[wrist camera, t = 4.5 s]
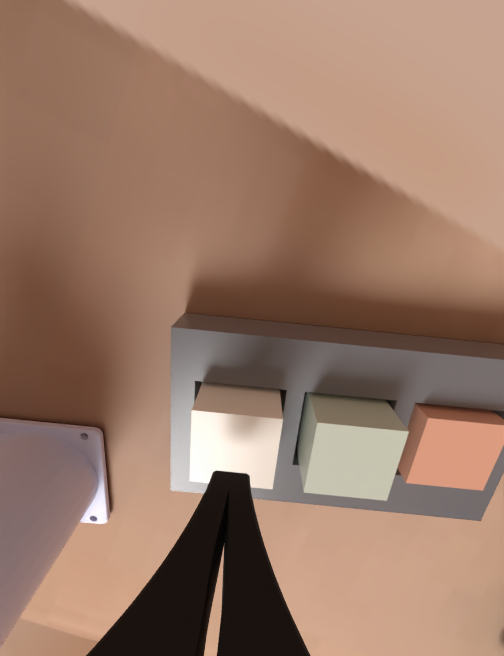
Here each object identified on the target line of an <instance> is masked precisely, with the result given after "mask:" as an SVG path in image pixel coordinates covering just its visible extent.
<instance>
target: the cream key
mask: <svg viewBox="0 0 504 656" xmlns="http://www.w3.org/2000/svg"><path fill="white" fill-rule="evenodd" d="M282 423H283V414H282V405H281V396H280V389H273V388H263V387H253V386H243V385H233V384H223V383H212V382H202V385H201V387H200V390H199V392H198V395H197V398H196V400H195V403H194V405H193V408H192V411H191V445H190V478H189V481H192V482H202V483H209V482H210V479H211V476H212V473H213V472H214V471H216V470H217V471H227V472H237V473H247V474H248V475H249V476H250V487H252V488H263V489H273V483H274V476H275V469H276V463H277V456H278V450H279V443H280V436H281V430H282Z"/></svg>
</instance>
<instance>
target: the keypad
mask: <svg viewBox="0 0 504 656" xmlns="http://www.w3.org/2000/svg"><path fill="white" fill-rule="evenodd" d="M202 382H212V383H223V384H233V385H243V386H253V387H263V388H273V389H280V396H281V405H282V414H283V423H282V430H281V436H280V443H279V450H278V456H277V463H276V469H275V476H274V483H273V489H263V488H252V487H251V494H252V498H253V499H263V500H273V501H283V502H294V503H304V504H314V505H324V506H334V507H344V508H354V509H364V510H374V511H385V512H395V513H405V514H415V515H425V516H435V517H445V518H455V519H466V520H476V521H481V519H482V517H483V515H484V513H485V510H486V508H487V506H488V504H489V502H490V500H491V498H492V496H493V494H494V492H495V489H496V487H497V485H498V483H499V481H500V479H501V477H502V475H503V473H504V446H503V448H502V450H501V452H500V454H499V456H498V459H497V461H496V463H495V465H494V467H493V470H492V472H491V474H490V476H489V478H488V481H487V483H486V485H485V487H484V489H483V491H481V490H471V489H461V488H451V487H441V486H430V485H420V484H410V483H406V482H405V480H404V479H403V477H402V475H401V473H400V472H399V470H398V468H397V471H396V474H395V477H394V480H393V483H392V486H391V489H390V492H389V495H388V498H387V501H384V500H374V499H364V498H354V497H344V496H333V495H323V494H313V493H304V492H303V485H302V479H301V473H300V467H299V461H298V454H297V442H298V436H299V435H298V429H299V424H300V418H301V412H302V406H303V401H304V395H305V392H314V393H324V394H334V395H344V396H354V397H365V398H375V399H385V400H386V401H387V402H388V404H389V405H390V406H391V408H392V409H393V410H394V412H395V413H396V415H397V416H398V417H399V419H400V420H401V421H402V423H403V424H404V425H405V427H406V428H407V427H408V424H409V420H410V417H411V414H412V411H413V408H414V405H415V403H425V404H436V405H446V406H456V407H466V408H476V409H486V410H492V411H493V412H495V413H496V414H497V415H498V416H500V417H501V418H502V419H504V344H496V343H486V342H476V341H466V340H456V339H446V338H436V337H425V336H415V335H405V334H395V333H385V332H375V331H364V330H354V329H344V328H334V327H324V326H314V325H303V324H293V323H283V322H273V321H263V320H253V319H242V318H232V317H222V316H212V315H202V314H192V313H184V314H183V315H182V316H181V317H180V318H179V319H178V320H177V321H176V323H175V324H174V325H173V326H172V327H171V490H172V491H182V492H192V493H202V494H204V493H205V491H206V489H207V486H208V484H209V483H202V482H192V481H189V478H190V445H191V411H192V408H193V405H194V403H195V400H196V398H197V395H198V392H199V390H200V387H201V385H202Z"/></svg>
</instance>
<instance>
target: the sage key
mask: <svg viewBox="0 0 504 656" xmlns="http://www.w3.org/2000/svg"><path fill="white" fill-rule="evenodd" d="M408 433H409V431H408V430H407V428H406V427H405V425H404V424H403V423H402V421H401V420H400V419H399V417H398V416H397V415H396V413H395V412H394V410H393V409H392V408H391V406H390V405H389V404H388V402H387V401H386V400H385V399H375V398H365V397H354V396H344V395H334V394H324V393H314V392H306V396H305V402H304V408H303V414H302V419H301V425H300V431H299V436H298V442H297V454H298V461H299V467H300V473H301V479H302V485H303V492H304V493H313V494H323V495H333V496H344V497H354V498H364V499H374V500H384V501H387V498H388V495H389V492H390V489H391V486H392V483H393V480H394V477H395V474H396V471H397V467H398V464H399V461H400V458H401V455H402V452H403V449H404V446H405V443H406V440H407V436H408Z"/></svg>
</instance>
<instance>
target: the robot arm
mask: <svg viewBox="0 0 504 656" xmlns="http://www.w3.org/2000/svg"><path fill="white" fill-rule="evenodd" d="M84 433H85V434H87V435H88V436H87V435H85V434H84ZM109 518H110V508H109V496H108V485H107V474H106V462H105V451H104V440H103V433H102V431H101V430H100V429H99V428H96V427H88V426H78V425H68V424H58V423H47V422H37V421H27V420H17V419H7V418H0V648H1V647H2V645H3V643H4V642H5V640H6V638H7V637H8V635H9V634H10V632H11V630H12V629H13V627H14V626H15V624H16V623H17V621H18V619H19V618H20V616H21V615H22V613H23V611H24V610H25V608H26V607H27V605H28V603H29V602H30V600H31V599H32V597H33V595H34V594H35V592H36V591H37V589H38V587H39V586H40V584H41V583H42V581H43V579H44V578H45V576H46V575H47V573H48V572H49V570H50V568H51V567H52V565H53V564H54V562H55V560H56V559H57V557H58V556H59V554H60V552H61V551H62V549H63V548H64V546H65V544H66V543H67V541H68V540H69V538H70V536H71V535H72V533H73V532H74V530H75V528H76V527H77V525H78V524H79V522H86V523H96V524H105V523H107V522H108V520H109ZM223 547H224V565H223V590H222V614H221V624H220V633H219V642H218V651H217V656H310V654H309V652H308V650H307V648H306V646H305V644H304V641H303V639H302V637H301V635H300V633H299V631H298V629H297V626H296V624H295V622H294V620H293V618H292V616H291V614H290V611H289V609H288V607H287V604H286V602H285V600H284V597H283V595H282V592H281V590H280V587H279V585H278V582H277V580H276V577H275V575H274V572H273V569H272V566H271V563H270V561H269V558H268V555H267V552H266V549H265V546H264V542H263V539H262V536H261V532H260V529H259V525H258V521H257V517H256V513H255V509H254V504H253V499H252V494H251V487H250V476H249V475H248V474H247V473H237V472H227V471H217V470H216V471H214V472H213V473H212V476H211V479H210V482H209V484H208V486H207V489H206V491H205V493H204V495H203V497H202V499H201V501H200V503H199V505H198V507H197V508H196V510H195V512H194V514H193V516H192V517H191V519H190V521H189V523H188V524H187V526H186V528H185V529H184V531H183V532H182V534H181V536H180V537H179V539H178V540H177V542H176V544H175V545H174V547H173V548H172V550H171V551H170V553H169V554H168V556H167V557H166V559H165V560H164V561H163V563H162V564H161V566H160V567H159V568H158V570H157V571H156V573H155V574H154V575H153V577H152V578H151V579H150V581H149V582H148V583H147V584H146V586H145V587H144V588H143V590H142V591H141V592H140V594H139V595H138V596H137V597H136V599H135V600H134V601H133V602H132V604H131V605H130V606H129V607H128V609H127V610H126V611H125V612H124V613H123V615H122V616H121V617H120V618H119V619H118V620H117V621H116V623H115V624H114V625H113V626H112V627H111V628H110V629H109V631H108V632H107V633H106V634H105V635H104V636H103V638H102V639H101V640H100V641H99V642H98V643H97V644H96V646H95V647H94V648H93V649H92V650H91V651H90V652H89V653H88V654H87V655H86V656H204V650H205V642H206V635H207V629H208V623H209V617H210V612H211V607H212V602H213V597H214V592H215V587H216V582H217V577H218V572H219V567H220V562H221V557H222V552H223Z"/></svg>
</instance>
